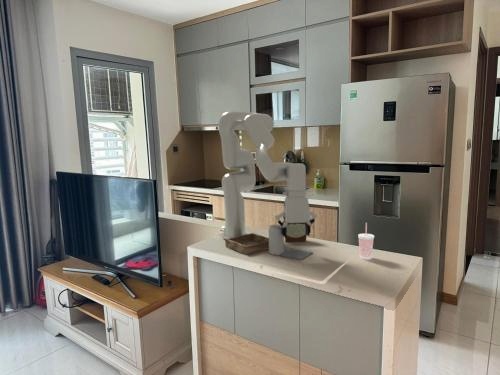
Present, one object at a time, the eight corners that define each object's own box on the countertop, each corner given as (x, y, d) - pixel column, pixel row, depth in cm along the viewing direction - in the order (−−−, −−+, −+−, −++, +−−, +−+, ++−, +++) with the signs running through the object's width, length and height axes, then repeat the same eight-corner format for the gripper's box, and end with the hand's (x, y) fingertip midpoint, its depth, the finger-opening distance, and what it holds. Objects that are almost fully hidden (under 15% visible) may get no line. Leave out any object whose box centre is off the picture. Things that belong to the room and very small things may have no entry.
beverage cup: (362, 254, 145) (362, 220, 143) (376, 257, 141) (377, 222, 139) (354, 257, 141) (355, 223, 139) (369, 261, 137) (369, 225, 135)
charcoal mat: (279, 255, 145) (279, 254, 145) (291, 249, 153) (291, 248, 153) (301, 260, 140) (301, 259, 140) (312, 253, 148) (312, 252, 148)
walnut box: (225, 246, 160) (225, 239, 159) (252, 240, 169) (252, 233, 169) (246, 255, 147) (246, 246, 147) (274, 247, 157) (274, 239, 156)
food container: (308, 238, 169) (308, 218, 168) (309, 242, 163) (309, 221, 162) (282, 238, 170) (282, 218, 169) (282, 242, 164) (281, 221, 163)
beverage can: (273, 257, 145) (272, 228, 144) (266, 252, 151) (265, 225, 150) (286, 255, 148) (286, 226, 146) (279, 250, 154) (279, 223, 152)
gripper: (277, 196, 138) (277, 239, 140) (319, 194, 141) (319, 236, 143) (272, 193, 145) (273, 234, 148) (313, 191, 148) (313, 232, 151)
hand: (296, 235), depth 145 cm, fingers open, 9 cm apart
